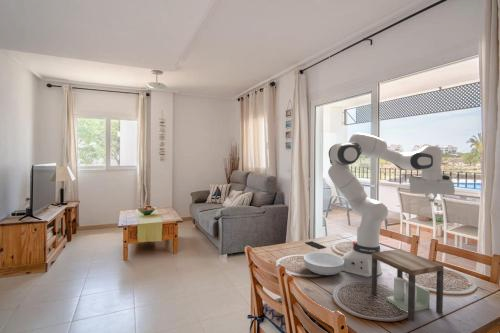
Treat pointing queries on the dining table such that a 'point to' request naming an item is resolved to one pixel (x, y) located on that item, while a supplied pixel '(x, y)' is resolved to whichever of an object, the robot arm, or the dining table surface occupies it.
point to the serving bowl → (323, 263)
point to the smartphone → (315, 245)
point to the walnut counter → (412, 267)
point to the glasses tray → (420, 300)
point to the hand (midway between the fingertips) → (430, 201)
